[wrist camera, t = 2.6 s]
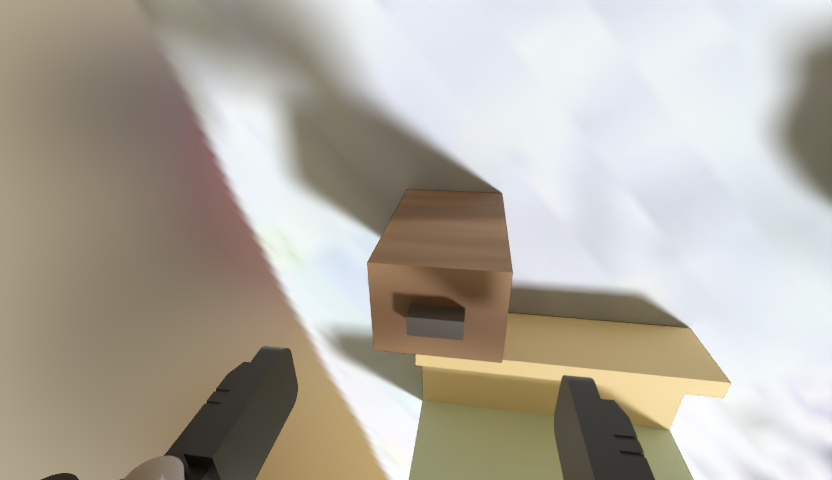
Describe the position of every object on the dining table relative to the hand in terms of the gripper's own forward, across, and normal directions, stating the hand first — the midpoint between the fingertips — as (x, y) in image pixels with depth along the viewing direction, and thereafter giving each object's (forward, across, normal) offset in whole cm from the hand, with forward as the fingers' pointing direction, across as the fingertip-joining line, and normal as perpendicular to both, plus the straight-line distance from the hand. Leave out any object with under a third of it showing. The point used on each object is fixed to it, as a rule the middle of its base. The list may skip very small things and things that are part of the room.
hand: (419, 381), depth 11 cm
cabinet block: (+11, 0, 0) cm, 11 cm away
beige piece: (+11, -6, +10) cm, 16 cm away
